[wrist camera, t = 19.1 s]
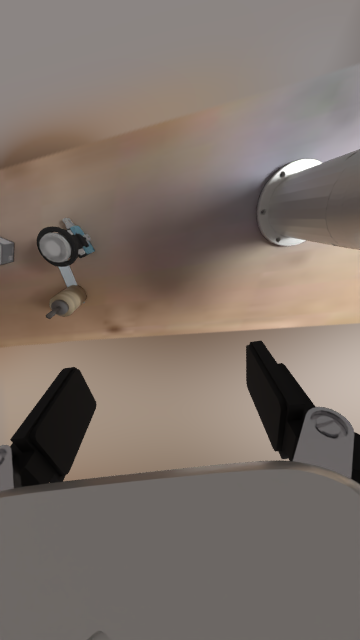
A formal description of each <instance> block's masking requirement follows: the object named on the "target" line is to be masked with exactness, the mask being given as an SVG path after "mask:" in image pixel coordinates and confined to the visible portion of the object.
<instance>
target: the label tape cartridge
mask: <svg viewBox="0 0 360 640" xmlns="http://www.w3.org/2000/svg"><path fill="white" fill-rule="evenodd" d="M13 261H14V242H11V241H9V240H7V239H4V238H2V237H0V265H2V264H6V263H10V262H13Z"/></svg>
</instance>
